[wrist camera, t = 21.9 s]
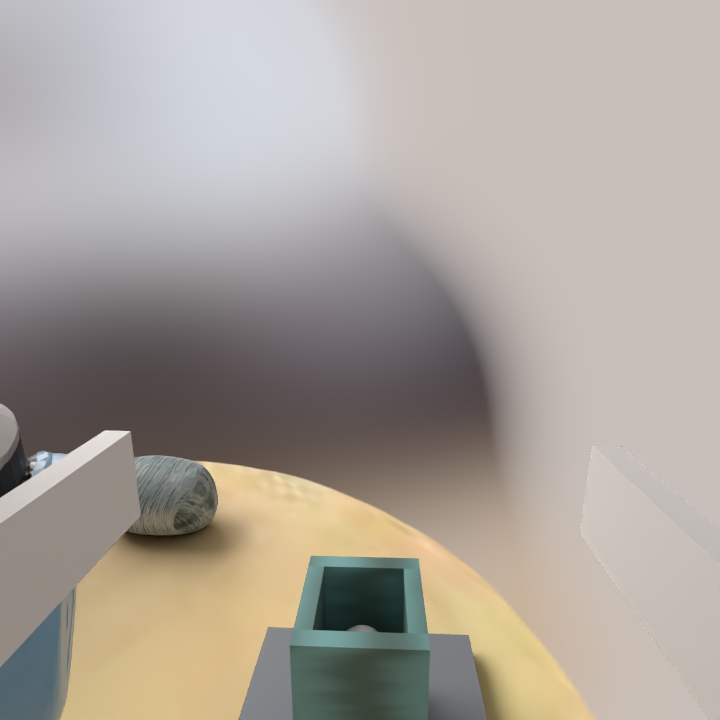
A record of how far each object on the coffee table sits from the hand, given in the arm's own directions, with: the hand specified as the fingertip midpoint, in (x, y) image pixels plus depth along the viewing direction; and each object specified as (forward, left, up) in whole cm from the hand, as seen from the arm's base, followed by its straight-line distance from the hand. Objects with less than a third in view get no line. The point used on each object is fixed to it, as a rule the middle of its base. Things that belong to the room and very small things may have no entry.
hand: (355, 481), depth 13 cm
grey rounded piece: (-25, +34, -24) cm, 49 cm away
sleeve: (0, +10, -23) cm, 25 cm away
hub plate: (0, +10, -24) cm, 26 cm away
